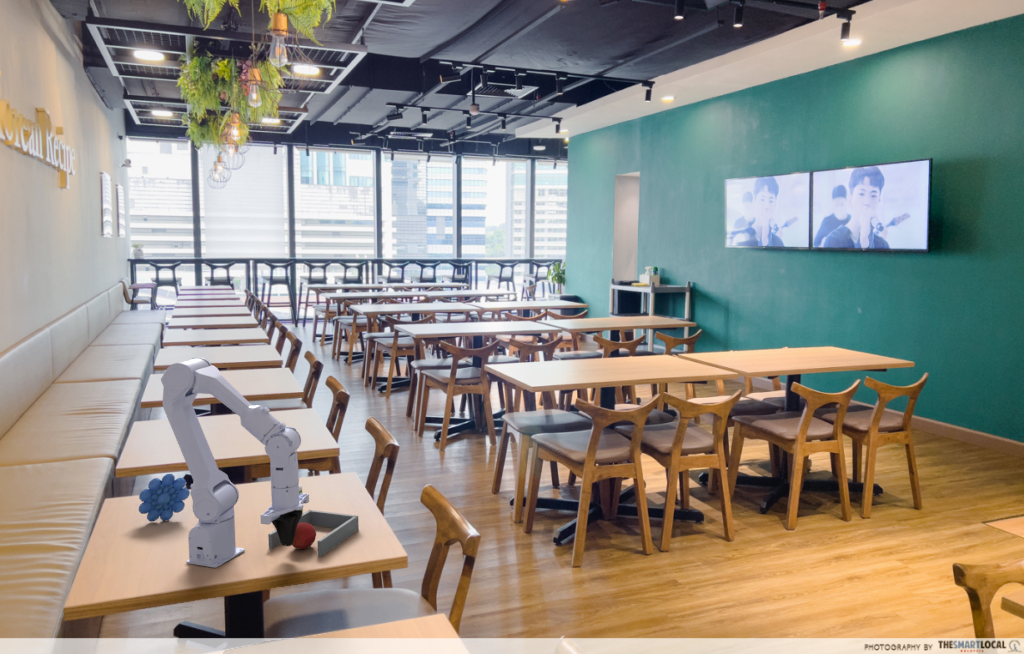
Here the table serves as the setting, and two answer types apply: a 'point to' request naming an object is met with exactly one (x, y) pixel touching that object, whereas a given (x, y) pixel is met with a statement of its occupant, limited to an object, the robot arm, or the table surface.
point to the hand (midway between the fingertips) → (287, 544)
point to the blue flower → (163, 498)
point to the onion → (304, 536)
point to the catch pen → (326, 519)
